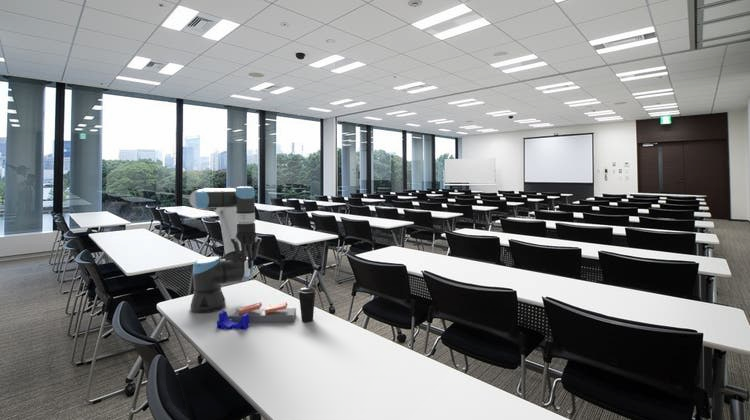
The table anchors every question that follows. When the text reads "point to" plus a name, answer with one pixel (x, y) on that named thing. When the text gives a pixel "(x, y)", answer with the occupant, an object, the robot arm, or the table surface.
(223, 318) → the cable clip
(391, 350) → the table surface
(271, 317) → the power strip
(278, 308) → the rocker
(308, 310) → the drinking cup
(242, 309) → the rocker
